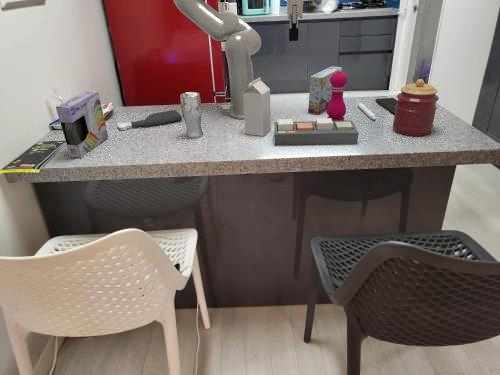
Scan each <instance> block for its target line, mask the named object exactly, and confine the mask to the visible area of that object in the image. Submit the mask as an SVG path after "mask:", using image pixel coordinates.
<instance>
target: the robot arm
mask: <svg viewBox="0 0 500 375" xmlns="http://www.w3.org/2000/svg"><path fill="white" fill-rule="evenodd" d="M303 1H304V0H286V15H287V19H288V20H289V28H288V40H289V42H298V41H299V19H300V20H302V19H303V18H304V17H303V15H304V14H303V13H304V12H303V11H304V10H303V6H304V4H303V3H304V2H303ZM173 3H174V5H175V6H176V8H177V9H178V10H179V12H181V13H182V14H183V15H184V16H185V17H186V18H188V19H190V21H191V22H193V23H194V24H195V25H196V26H197V27H199V29H200V30H202V31H203V32H204V33H206V34H207V35H208V36H209V37H211V39H213V40H215V41H216V42H217V41H218V42H220V41H221V42H222V41H225V40H226V41H225V44H224V50H225V51H224V52H225V56H226V60H227V66H228V75H229V76H228V77H229V78H228V79H229V90H230V103H228V104H220V111H221V110H223V111H224V112H225V111H228V112H227V114H228V117H230V118H232V119H238V120H245V117H244V99H243V93H244V92H245V91H246V90H247V89H248V84H250V83H251V82H252V81H254V80H255V79H254V67H253V62H252V58H251V56H253V55H255V54H257V53H258V52H259V50H260V49H261V46H262V38H261V37H260V35H259V33H258V32H257V31H256V30H255V29H254V28H253V27H252V26H251V25H249V24H248V23H246V21H245V20H243V19H242V18H241V17H240V16H239V15H237V14H235V13H232V12H231V11H230V12H227V11H226V12H219V11H217V10H215V9H214V8H213V7H212V6H210V4H208V3H207V2H206V1H204V0H173Z"/></svg>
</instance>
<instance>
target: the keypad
mask: <svg viewBox="0 0 500 375" xmlns="http://www.w3.org/2000/svg"><path fill="white" fill-rule="evenodd" d="M332 122H333V130H316V120H315V121H311V120H310V121H307V120H306V121H293V131H278V121H276V122H275V121H274V127H273V128H274V130H273V131H274V135H273V137H274V146H276V147H281V146H282V147H285V146H287V147H288V146H330V145H331V146H332V145H334V146H337V145H339V146H340V145H358V142H359V141H358V140H359V131H358V129H357V127H356V125H355V123H354V122H353V120H350V119H349V120H344V121H332ZM335 122H351V124H352V126H353V129H350V130H336V128H335ZM297 123H312V126H313V130H302V131H297Z"/></svg>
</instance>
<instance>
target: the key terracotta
mask: <svg viewBox="0 0 500 375" xmlns="http://www.w3.org/2000/svg"><path fill="white" fill-rule="evenodd" d="M302 130H313V126H312V123H297V131H302Z"/></svg>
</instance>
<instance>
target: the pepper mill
mask: <svg viewBox="0 0 500 375" xmlns="http://www.w3.org/2000/svg"><path fill="white" fill-rule="evenodd" d="M342 70H343V68H342V69H341V68H338V69H337V72H336V73H334V74H332V75H331V77H330V83H331V84H332V86H331V91H332V98H331V101H330V103H329V104H328V107H327V110H326V111H325V112H326V114H327V115H328V116H327V118H331V119H332V121H345V115H346V114H347V106H346V104H345V102H344V91H345V90H346V89H345V88H346V86H345V85H346V84H347V82H348V77H347V75H346V74H345V73H344V72H343V71H342ZM341 71H342V72H341Z"/></svg>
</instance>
